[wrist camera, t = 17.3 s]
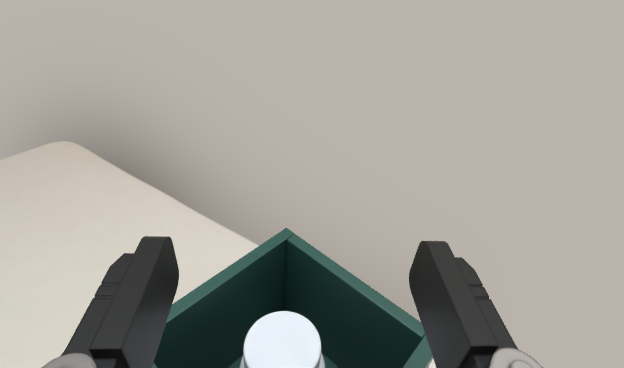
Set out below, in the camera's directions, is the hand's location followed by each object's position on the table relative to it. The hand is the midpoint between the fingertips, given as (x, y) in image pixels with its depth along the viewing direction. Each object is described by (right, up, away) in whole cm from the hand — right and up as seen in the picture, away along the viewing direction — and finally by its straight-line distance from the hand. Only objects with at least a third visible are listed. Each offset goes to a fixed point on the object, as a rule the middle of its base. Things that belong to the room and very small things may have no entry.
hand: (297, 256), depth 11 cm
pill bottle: (-2, -13, +11) cm, 17 cm away
